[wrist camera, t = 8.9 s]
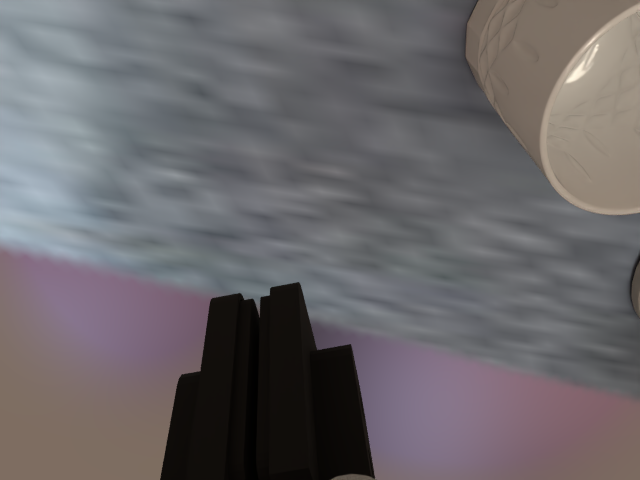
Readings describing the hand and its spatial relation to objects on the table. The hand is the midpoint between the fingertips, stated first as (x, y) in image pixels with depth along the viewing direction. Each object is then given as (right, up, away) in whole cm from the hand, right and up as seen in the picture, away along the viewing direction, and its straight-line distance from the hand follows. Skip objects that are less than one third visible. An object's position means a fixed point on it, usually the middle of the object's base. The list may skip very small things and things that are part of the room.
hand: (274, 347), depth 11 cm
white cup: (+11, +12, +17) cm, 23 cm away
